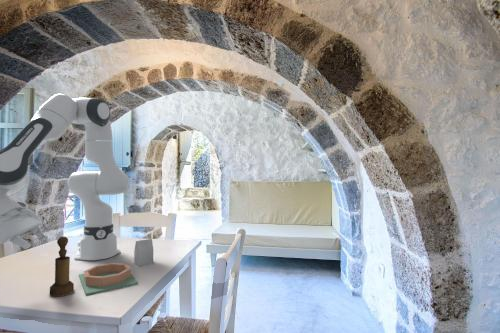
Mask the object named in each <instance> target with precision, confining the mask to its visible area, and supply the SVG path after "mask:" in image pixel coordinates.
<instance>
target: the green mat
mask: <svg viewBox="0 0 500 333" xmlns="http://www.w3.org/2000/svg"><path fill="white" fill-rule="evenodd" d="M119 273H120V272H109V273H103V274H98V275H96V276H102V277H103V276H108V275H114V274H119ZM78 277H79V280H80V283H81V286H82V289H83V292H84V294H85V296H90V295H95V294H99V293H102V292H107V291H112V290H113V291H114V290H118V289H122V288H126V287H130V286H134V285H135V286H136V285H138V284H139V281H138V280H137V279H136V278H135V277H134V276H133V275H132V274H131V275H130V277H129V278H128V279H126V280H125V281H123V282H122V283H118V284H113V285H109V286H104V287H97V286H86V285H85V282H84V273H80V274H78Z"/></svg>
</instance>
